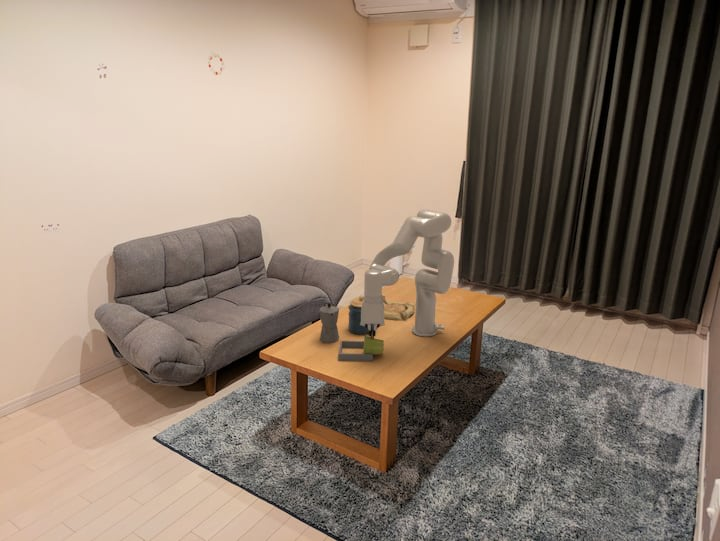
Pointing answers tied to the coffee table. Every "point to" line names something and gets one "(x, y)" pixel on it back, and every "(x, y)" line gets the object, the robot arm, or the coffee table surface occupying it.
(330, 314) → the coffeepot
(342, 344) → the bay
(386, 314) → the ashtray
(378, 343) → the plant pot
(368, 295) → the robot arm
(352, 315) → the canister
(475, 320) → the coffee table surface
